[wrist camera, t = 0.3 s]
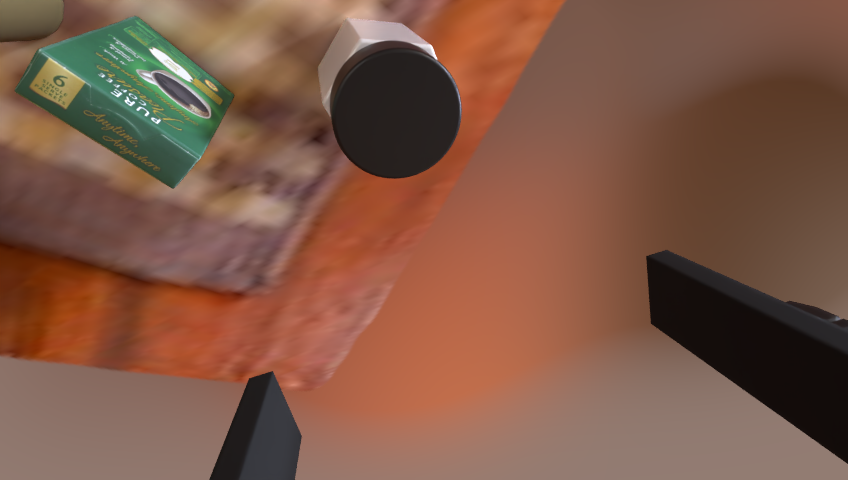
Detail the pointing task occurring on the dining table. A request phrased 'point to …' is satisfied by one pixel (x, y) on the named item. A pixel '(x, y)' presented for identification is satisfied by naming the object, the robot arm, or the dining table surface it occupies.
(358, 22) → the jar
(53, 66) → the coffee box
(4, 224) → the dining table surface
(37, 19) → the olive peanut shape
